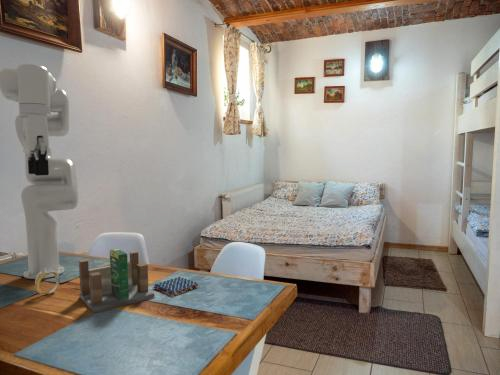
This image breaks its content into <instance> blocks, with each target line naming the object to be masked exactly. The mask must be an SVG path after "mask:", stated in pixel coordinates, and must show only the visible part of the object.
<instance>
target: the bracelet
mask: <svg viewBox="0 0 500 375" xmlns="http://www.w3.org/2000/svg"><path fill="white" fill-rule="evenodd" d="M43 273H44V274H43ZM47 273H52V274H54V275H55V276H54V277H55V279H56V280H55V281H56V282H55V284H54V286H53V287H52V288H51V289H47V290H46V291H45V290H44V291H43V290H41V288H40V283H41V281H42V280H43V279H42V278H43V277H44V276H45V275H47ZM41 274H42V275H41ZM40 275H41V276H40ZM34 280H35V282H34V286H35V289H36V291H38V293H40V294H42V295H50V294H52V293H53V292H54V291H56V290H57V288H58V287H59V285H60V282H61V277H60V275H59V274H58V272H57V271H55V270H52V267H51V269H50V268H49V269H47V267H46V268H44V270H41V272H40V273H39V274H38V275H37V277H36V279H34Z"/></svg>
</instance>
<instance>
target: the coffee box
mask: <svg viewBox="0 0 500 375" xmlns="http://www.w3.org/2000/svg"><path fill="white" fill-rule="evenodd" d="M128 262H129V261H128V253H127V252H125V251H124V250H121V249H119V248H115V249H110V250H109V264H110V265H109V266H111V286H112V293H113V294H114V295H115V296H116V297H117V298H118V299H119V300H120V301H122V300H126V299H129V287H128Z"/></svg>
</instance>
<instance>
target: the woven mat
mask: <svg viewBox="0 0 500 375" xmlns="http://www.w3.org/2000/svg"><path fill="white" fill-rule="evenodd" d="M194 287H196V288H194ZM198 287H199V284H198V283H197V282H196V281H193V280H191V279H187V278H184V277H181V276H178V277H174V278H170V279H169V280H168V279H167V280H164V281H161V282H158V283H155V284H154V286H153V287H152V288H153V289H154V290H155V289H156V290H155V291H158V290H159V291H158V292H160V291H161V292H160V293H164V294H165V293H166V294H165V295H168V296H171V297H173V298H174V297H175V296H177V295H181V294H183V293H187V292H189V291H192V290H193V289H192V288H194V289H198ZM186 290H187V291H186ZM188 290H189V291H188Z"/></svg>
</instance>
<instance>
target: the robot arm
mask: <svg viewBox="0 0 500 375" xmlns="http://www.w3.org/2000/svg"><path fill="white" fill-rule="evenodd" d="M0 92H1V95H2V96H3V97H4V98H5V99H7V100H9V101H13V102H15V103H16V102H17V103H18V115H17V116H16V117H15V120H14V122H15V123H14V125H15V127H14V128H15V132H16V135H17V138H18V141H19V143H20V145H21V146H22V148H23V149H22V150H23V153H24V161H25V162H24V163H25V177H26V179H27V180H26V181H27V182H28V183H29V185H27V186H25V187H23V189H22V191H21V194H20V197H21V203H22V207H23V211H24V212H23V214H24V218H25V230H26V232H25V233H26V246H27V248H26V249H27V263H28V265H27V266H28V269H27V270H25V271H24V272H23V278H25V279H28V280H36V277H37V275H38V274H39V273H40V272H41V270H44V268H46V267H47V269H49V268H50V269H51V267H52V270H55V271H57V272H58V274H59V276H60V275H61V274H63V273H64V272H65V267H64V266H63V265H60V253H59V252H60V251H59V232H58V222H57V221H56V219H55V218H54V217H53V216H52V214H50V213H49V212H55V211H57V212H58V211H69V210H74V209H76V207H77V206H78V205H79V189H78V181H77V173H76V168H75V164H74V161H72V160H71V159H69V158H60V157H59V158H52V156H53V155H52V149H51V148H50V146H49V145H50V143H49V140H50V139H49V137H64V136H67V135H68V133H69V131H70V101H69V97H68V95H67V93H66V91H65V90H64V89H61V88H57V81H56V79H55V77H54V76H53V75H52V73H51V72H49V70H48V68H47V67H45V66H43V65H40V64H34V63H22V64H19V65H18V66H17V68H12V67H6V68H1V70H0ZM43 274H44V273H43ZM41 275H42V274H41ZM41 275H40V276H41ZM53 277H55V275H54V274H52V273H47V275H45V276H44V277H43V278H42V279H41V280H43V279H48V278H49V279H50V278H53Z"/></svg>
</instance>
